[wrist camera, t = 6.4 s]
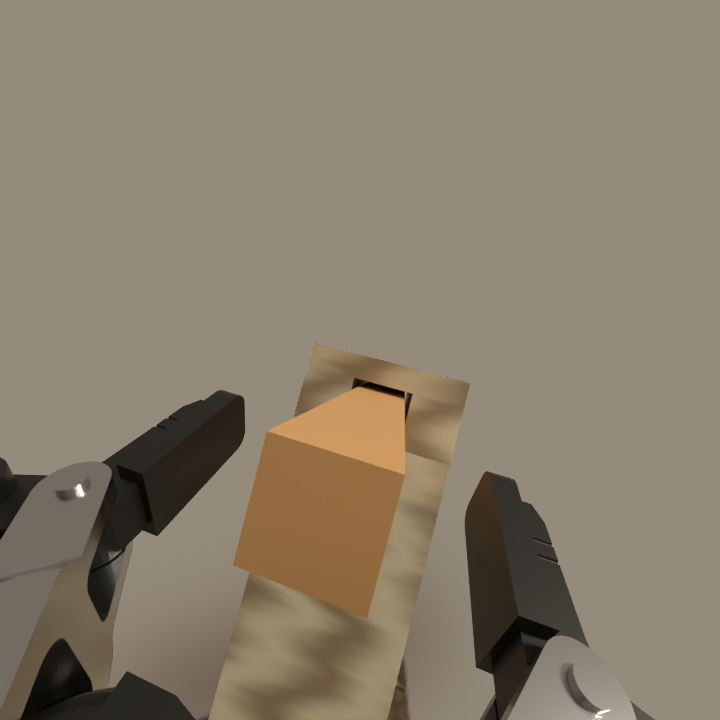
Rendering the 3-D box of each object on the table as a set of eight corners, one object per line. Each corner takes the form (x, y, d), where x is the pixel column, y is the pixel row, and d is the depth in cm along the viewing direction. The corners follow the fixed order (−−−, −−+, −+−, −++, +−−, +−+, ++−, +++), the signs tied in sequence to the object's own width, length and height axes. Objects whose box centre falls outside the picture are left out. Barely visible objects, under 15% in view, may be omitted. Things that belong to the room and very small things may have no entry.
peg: (233, 565, 6) (267, 431, 6) (359, 416, 24) (368, 381, 24) (367, 618, 6) (405, 475, 6) (395, 426, 24) (404, 391, 24)
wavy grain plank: (139, 961, 17) (314, 342, 19) (235, 748, 27) (343, 358, 29) (301, 1068, 15) (470, 383, 17) (339, 800, 25) (443, 385, 27)
